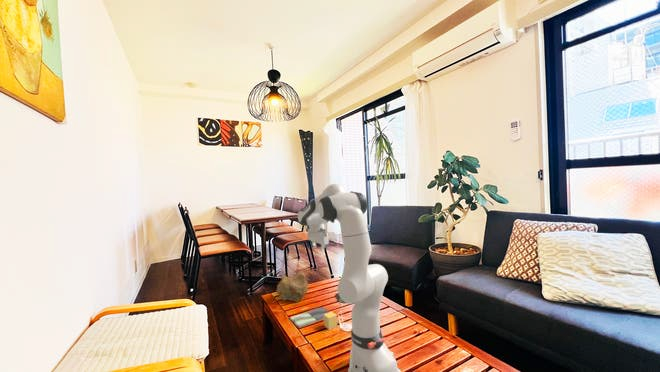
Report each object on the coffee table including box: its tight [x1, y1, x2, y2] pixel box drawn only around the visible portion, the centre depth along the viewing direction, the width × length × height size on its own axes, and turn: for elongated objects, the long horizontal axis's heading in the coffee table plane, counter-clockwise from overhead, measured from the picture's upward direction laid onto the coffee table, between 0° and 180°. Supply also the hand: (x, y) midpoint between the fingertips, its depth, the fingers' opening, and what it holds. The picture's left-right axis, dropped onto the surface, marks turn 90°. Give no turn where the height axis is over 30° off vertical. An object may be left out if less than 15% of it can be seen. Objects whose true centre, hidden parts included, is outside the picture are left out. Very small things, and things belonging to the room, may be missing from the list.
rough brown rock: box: [275, 271, 309, 303], centre depth 175 cm, size 23×17×15 cm
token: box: [323, 311, 338, 331], centre depth 139 cm, size 5×5×6 cm
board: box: [289, 306, 330, 329], centre depth 149 cm, size 12×21×1 cm, turn 122°
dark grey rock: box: [334, 292, 347, 304], centre depth 174 cm, size 19×4×15 cm
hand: (318, 249), depth 165 cm, fingers open, 8 cm apart
